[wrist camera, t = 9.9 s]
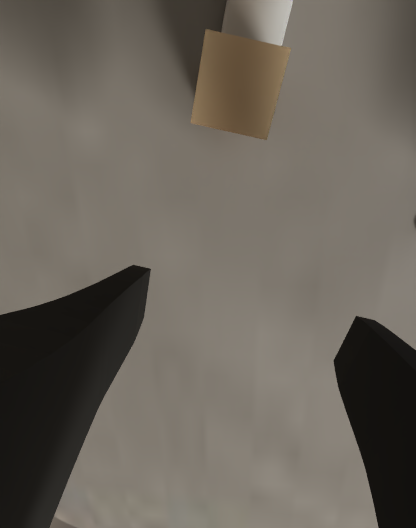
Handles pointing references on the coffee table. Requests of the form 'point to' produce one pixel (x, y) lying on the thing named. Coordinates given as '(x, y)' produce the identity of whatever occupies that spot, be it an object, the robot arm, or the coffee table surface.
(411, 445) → the robot arm
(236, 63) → the turner
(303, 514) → the coffee table surface
